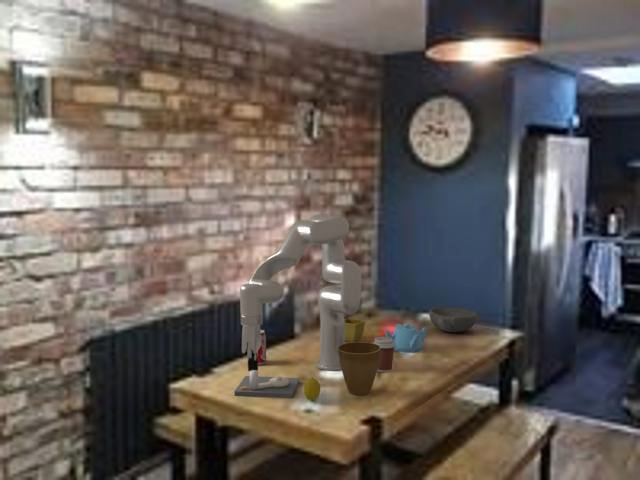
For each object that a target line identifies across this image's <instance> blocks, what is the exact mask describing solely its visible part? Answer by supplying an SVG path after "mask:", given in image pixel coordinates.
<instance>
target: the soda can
mask: <svg viewBox="0 0 640 480" xmlns="http://www.w3.org/2000/svg"><path fill="white" fill-rule="evenodd" d="M260 331H261V346H260V348H259V350H258V358H257V359H258V366H264V365H265V364H266V362H267V335H266V333H265V330H264V329H260Z"/></svg>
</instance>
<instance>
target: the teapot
mask: <svg viewBox="0 0 640 480" xmlns="http://www.w3.org/2000/svg"><path fill="white" fill-rule="evenodd" d="M427 331H428V327H427V326H425V327H422V329H421V331H420V332H419V330H418V329H417V328H416V327H415V326H411V324H409V323H403V325H402V324H401V323H396V326H395V330H394V331H393V333H392V334H391V332H390V331H389V330H385V331H384V333H385V335H386V336H385V337H389V338H392V339H393V342H395V343H396V346H395V347H394V351H396V352H401V353H415V352H419V351H420V350H421V349H422V347H423V345H424V342H425V339H426V336H427Z"/></svg>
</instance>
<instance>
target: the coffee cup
mask: <svg viewBox="0 0 640 480" xmlns="http://www.w3.org/2000/svg"><path fill="white" fill-rule="evenodd" d="M372 343H374V344H377V345H379V346H380V347H381V350H380V358H379V363H378V368H377V372H379V373H388V372H392V371H393V363H394V361H393V360H394V352H395V350H394V347H395V346H396V343H395V342H393V339H392V338H389V337H387V336H380V337H375V338H374V341H372Z"/></svg>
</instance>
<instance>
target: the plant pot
mask: <svg viewBox="0 0 640 480" xmlns="http://www.w3.org/2000/svg"><path fill="white" fill-rule="evenodd" d="M380 350H381V347H380V346H379V345H377V344H374V343H373V342H367V341H356V342H345V343H344V344H341V345H339V346H338V354H339V360H340V365H341V369H342V370H341V372H342V373H341V374H342V376H343V378H344V379H343V380H344V382H345V385H346V388H347V390H348V393H349V394H350V395H354V396H366V395H368V394H370V392H371V391H372V388H373V385H374V383H375V379H376V375H377V372H378V371H377V368H378V363H379V358H380Z"/></svg>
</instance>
